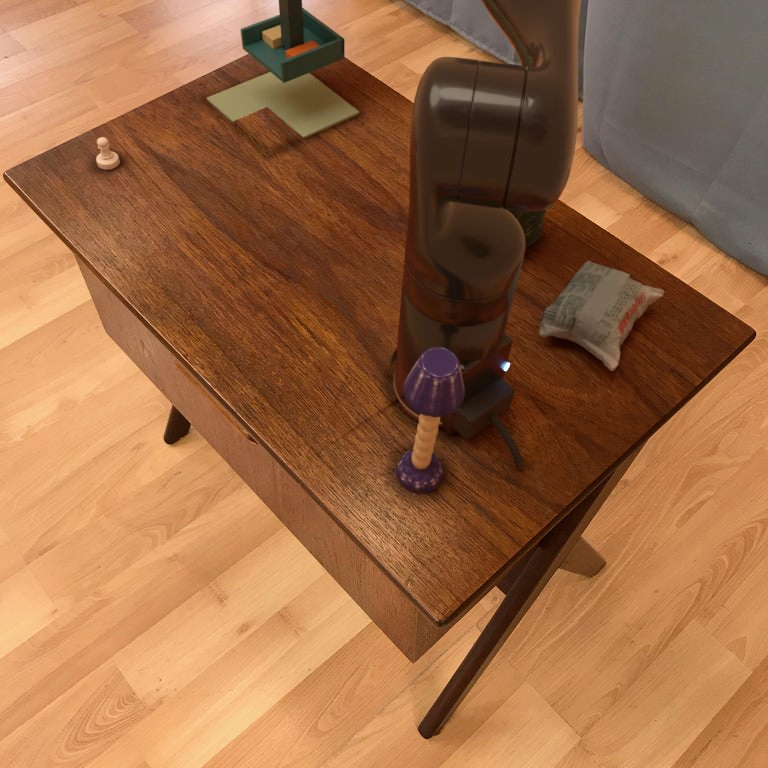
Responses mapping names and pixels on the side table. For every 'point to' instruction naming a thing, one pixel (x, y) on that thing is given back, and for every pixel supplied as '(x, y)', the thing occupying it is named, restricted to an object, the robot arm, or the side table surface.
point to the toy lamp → (429, 415)
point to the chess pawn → (106, 155)
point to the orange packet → (301, 49)
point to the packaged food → (598, 310)
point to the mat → (286, 102)
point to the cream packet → (272, 37)
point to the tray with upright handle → (293, 42)
